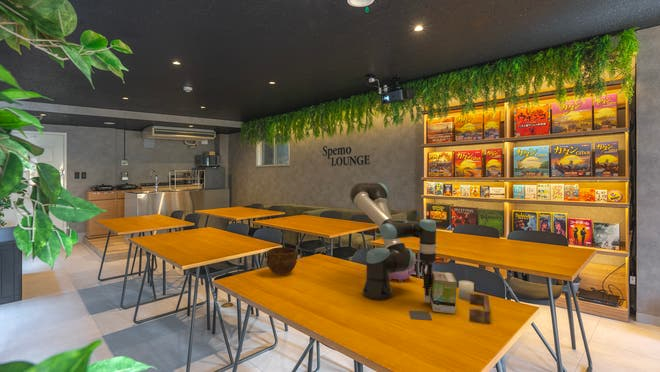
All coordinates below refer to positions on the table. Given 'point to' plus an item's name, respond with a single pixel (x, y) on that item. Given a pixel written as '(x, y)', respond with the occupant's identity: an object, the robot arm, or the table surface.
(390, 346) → the table surface
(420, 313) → the rubber coaster
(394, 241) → the robot arm
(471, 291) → the cream domed cylinder
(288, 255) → the bowl
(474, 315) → the display bay
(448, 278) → the tea box
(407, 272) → the teapot
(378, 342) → the table surface
